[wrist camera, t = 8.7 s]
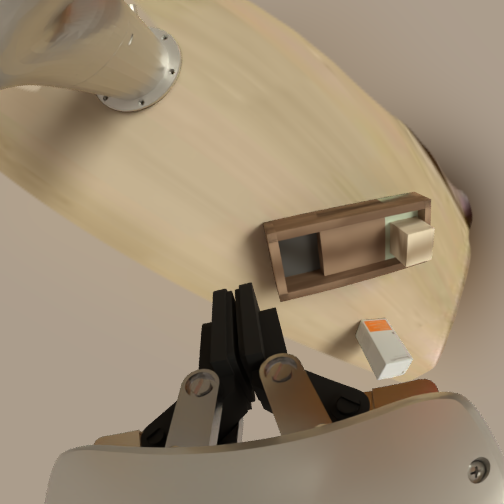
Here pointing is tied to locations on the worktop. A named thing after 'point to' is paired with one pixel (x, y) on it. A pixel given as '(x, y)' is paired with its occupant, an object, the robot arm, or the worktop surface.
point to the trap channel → (338, 244)
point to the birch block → (411, 240)
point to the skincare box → (383, 348)
